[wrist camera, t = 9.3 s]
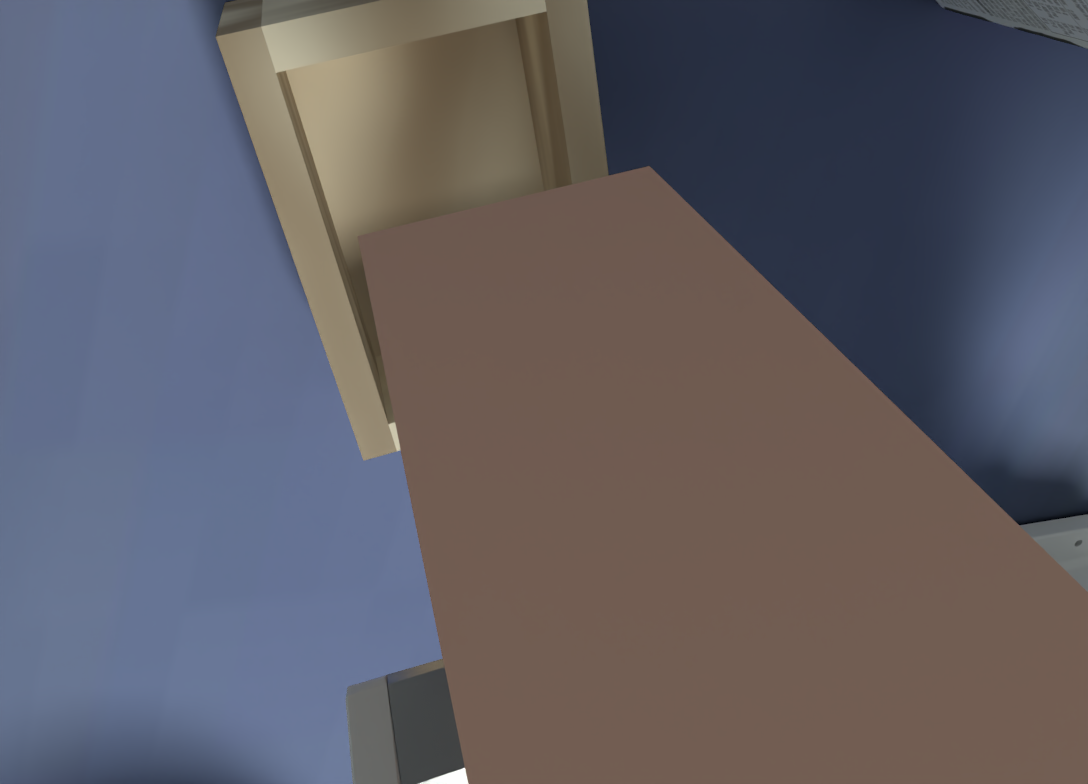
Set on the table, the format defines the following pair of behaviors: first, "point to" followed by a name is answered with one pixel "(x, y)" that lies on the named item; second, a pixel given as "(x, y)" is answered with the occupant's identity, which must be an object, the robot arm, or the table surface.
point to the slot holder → (403, 137)
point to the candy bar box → (1031, 16)
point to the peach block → (698, 521)
